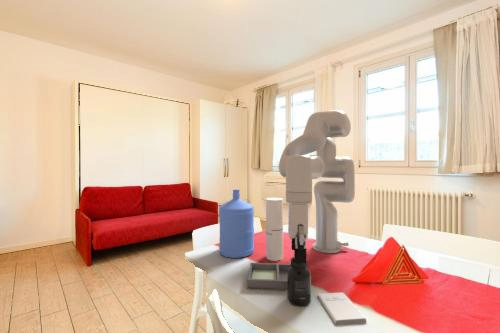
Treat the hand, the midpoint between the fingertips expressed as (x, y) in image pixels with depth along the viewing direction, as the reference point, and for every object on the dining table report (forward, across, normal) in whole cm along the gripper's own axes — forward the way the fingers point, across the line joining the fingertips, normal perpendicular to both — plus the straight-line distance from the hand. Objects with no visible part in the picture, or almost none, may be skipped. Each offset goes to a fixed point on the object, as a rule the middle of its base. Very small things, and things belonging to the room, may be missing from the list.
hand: (298, 255), depth 72 cm
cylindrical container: (+13, -32, -7) cm, 35 cm away
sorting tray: (+13, -12, -6) cm, 19 cm away
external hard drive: (+14, +2, +11) cm, 18 cm away
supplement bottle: (+14, -1, 0) cm, 14 cm away
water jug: (+13, -37, -24) cm, 46 cm away
